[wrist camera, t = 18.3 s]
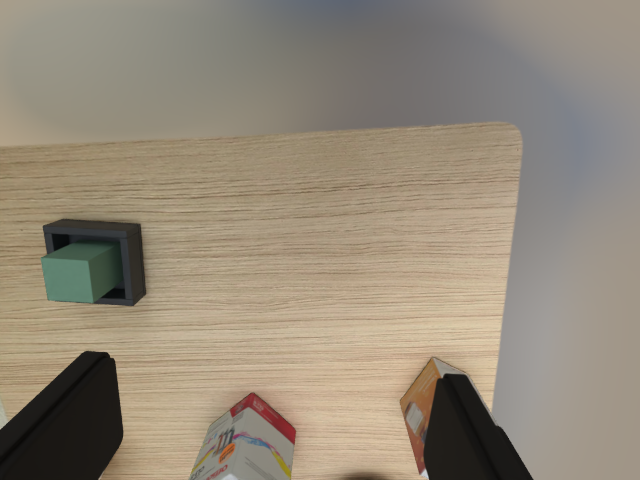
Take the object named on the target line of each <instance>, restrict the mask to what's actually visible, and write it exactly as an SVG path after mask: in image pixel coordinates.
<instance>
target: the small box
mask: <svg viewBox="0 0 640 480" xmlns="http://www.w3.org/2000/svg"><path fill="white" fill-rule="evenodd" d="M445 373H451V374H465V375H466V376H467V377H468V379H469V380H470V382H471V384H472V385H473V387H474V389H475V391H476V392H477V394H478V396H479V397H480V399H481V401H482V403H483V404H484V406H485V408H486V409H487V411H488V413H489V415H490V416H491V418H492V420H493V422H494V423H495V425H498V424H497V423H496V421H495V419H494V417H493V416H492V414H491V412H490V410H489V409H488V407H487V405H486V404H485V402H484V400H483V399H482V397H481V395H480V393H479V392H478V390H477V388H476V386H475V385H474V383H473V381H472V379H471V378H470V376H469V375H468V374H466V373H464V372H462V371H460V370H458V369H456V368H454V367H452V366H450V365H448V364H446V363H444V362H441V361H439V360H437V359H435V358H431V360H430V361H429V363H428V364H427V366H426V367H425V369H424V370H423V372H422V373H421V374H420V376H419V377H418V378H417V380H416V381H415V382H414V384H413V385H412V386H411V388H410V389H409V390H408V392H407V393H406V394H405V396H404V397H403V398H402V399H401V401H400V405H401V409H402V412H403V416H404V420H405V423H406V427H407V431H408V434H409V438H410V442H411V445H412V449H413V452H414V456H415V460H416V464H417V467H418V471H419V474H420V475H421V476H424V477H426V478H428V474H427V471H426V468H425V464H424V459H423V450H424V444H425V439H426V434H427V428H428V423H429V418H430V413H431V408H432V403H433V397H434V392H435V387H436V382H437V379H438V378H443V375H444V374H445ZM428 479H429V478H428Z"/></svg>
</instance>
